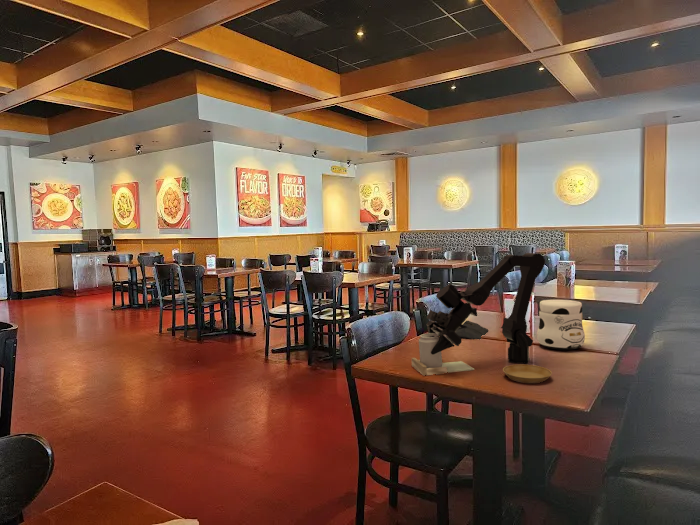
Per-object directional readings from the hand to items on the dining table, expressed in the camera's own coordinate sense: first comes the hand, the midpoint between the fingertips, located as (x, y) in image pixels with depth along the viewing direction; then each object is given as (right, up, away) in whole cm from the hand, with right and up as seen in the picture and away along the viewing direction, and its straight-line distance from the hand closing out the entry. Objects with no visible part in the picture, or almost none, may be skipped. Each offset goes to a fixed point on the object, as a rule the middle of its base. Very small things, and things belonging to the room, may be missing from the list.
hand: (427, 350), depth 167 cm
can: (+2, -7, +1) cm, 7 cm away
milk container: (+57, -3, +25) cm, 62 cm away
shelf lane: (+2, -7, +1) cm, 7 cm away
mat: (+10, -6, +2) cm, 12 cm away
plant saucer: (+30, -7, -12) cm, 33 cm away
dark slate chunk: (+28, -3, +54) cm, 61 cm away
